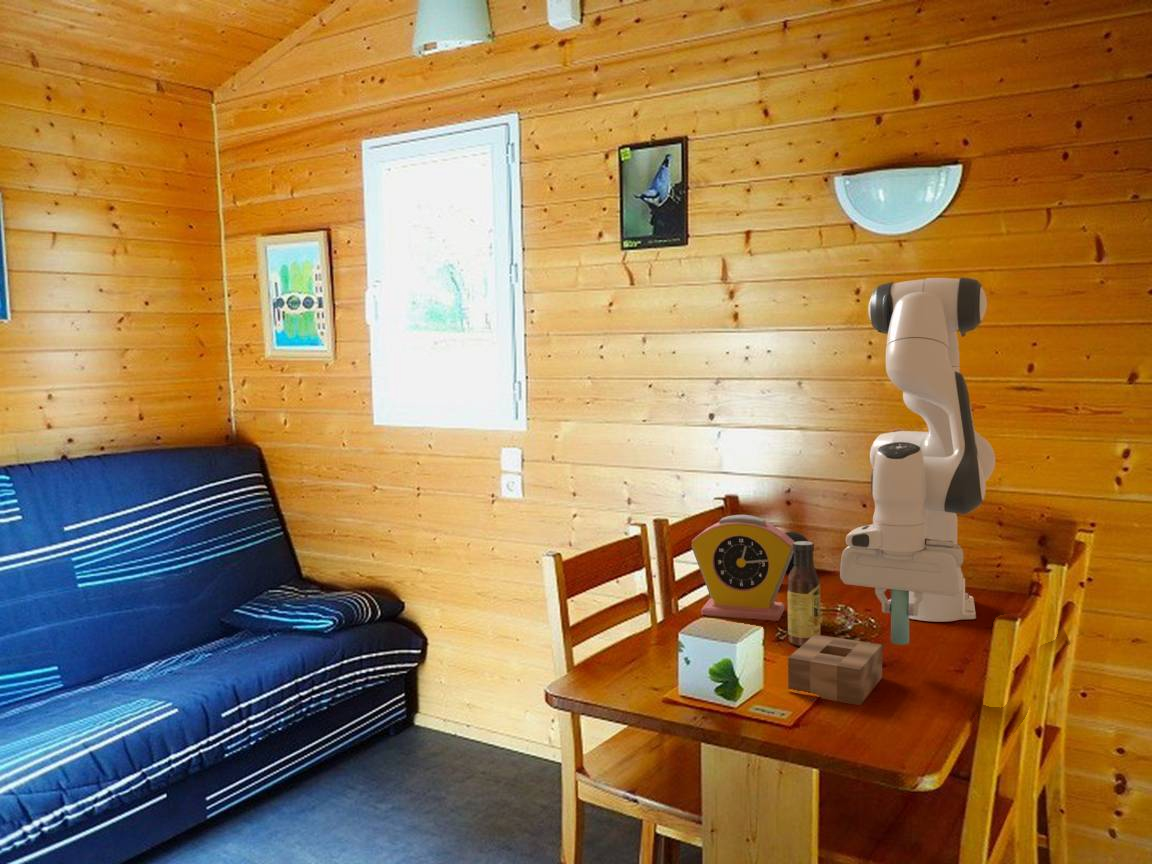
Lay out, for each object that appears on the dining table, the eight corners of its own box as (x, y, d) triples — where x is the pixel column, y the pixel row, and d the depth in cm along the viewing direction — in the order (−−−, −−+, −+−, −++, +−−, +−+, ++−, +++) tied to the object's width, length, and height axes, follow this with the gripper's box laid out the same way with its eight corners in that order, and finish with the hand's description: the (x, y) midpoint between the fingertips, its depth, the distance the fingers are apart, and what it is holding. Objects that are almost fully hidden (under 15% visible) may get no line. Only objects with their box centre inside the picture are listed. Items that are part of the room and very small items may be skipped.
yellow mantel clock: (688, 615, 202) (687, 517, 199) (698, 603, 210) (697, 510, 208) (791, 623, 194) (791, 522, 192) (797, 611, 202) (797, 514, 200)
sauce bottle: (821, 648, 178) (821, 547, 176) (788, 647, 179) (787, 546, 177) (819, 637, 184) (819, 539, 182) (787, 636, 185) (786, 539, 183)
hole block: (814, 666, 168) (814, 634, 167) (881, 677, 162) (882, 644, 161) (788, 692, 156) (788, 657, 156) (859, 705, 150) (859, 669, 149)
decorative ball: (820, 572, 235) (820, 533, 234) (789, 577, 230) (789, 538, 229) (793, 564, 244) (793, 526, 243) (763, 569, 239) (763, 531, 238)
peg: (893, 637, 165) (893, 583, 164) (910, 640, 164) (910, 585, 162) (889, 643, 163) (888, 588, 162) (907, 645, 161) (906, 590, 160)
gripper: (966, 537, 158) (966, 615, 160) (846, 528, 169) (847, 601, 171) (959, 546, 153) (959, 626, 154) (836, 536, 164) (837, 611, 165)
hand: (900, 613), depth 163 cm, fingers closed on peg, 3 cm apart
